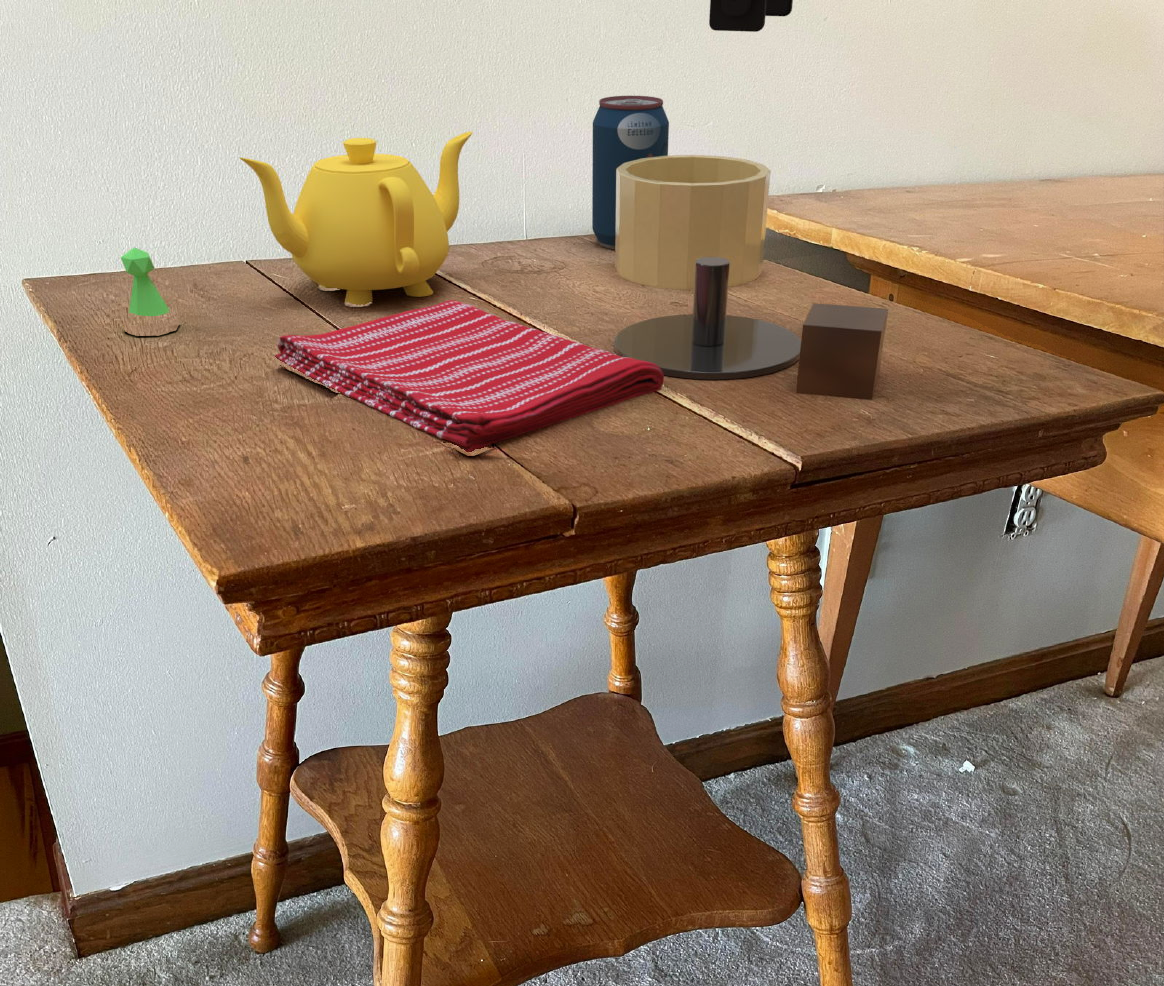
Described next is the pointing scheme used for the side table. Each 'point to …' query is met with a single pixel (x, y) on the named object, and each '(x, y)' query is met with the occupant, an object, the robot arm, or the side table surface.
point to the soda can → (622, 151)
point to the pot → (689, 218)
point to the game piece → (143, 285)
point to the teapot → (366, 219)
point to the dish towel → (467, 372)
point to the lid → (710, 336)
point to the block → (841, 351)
